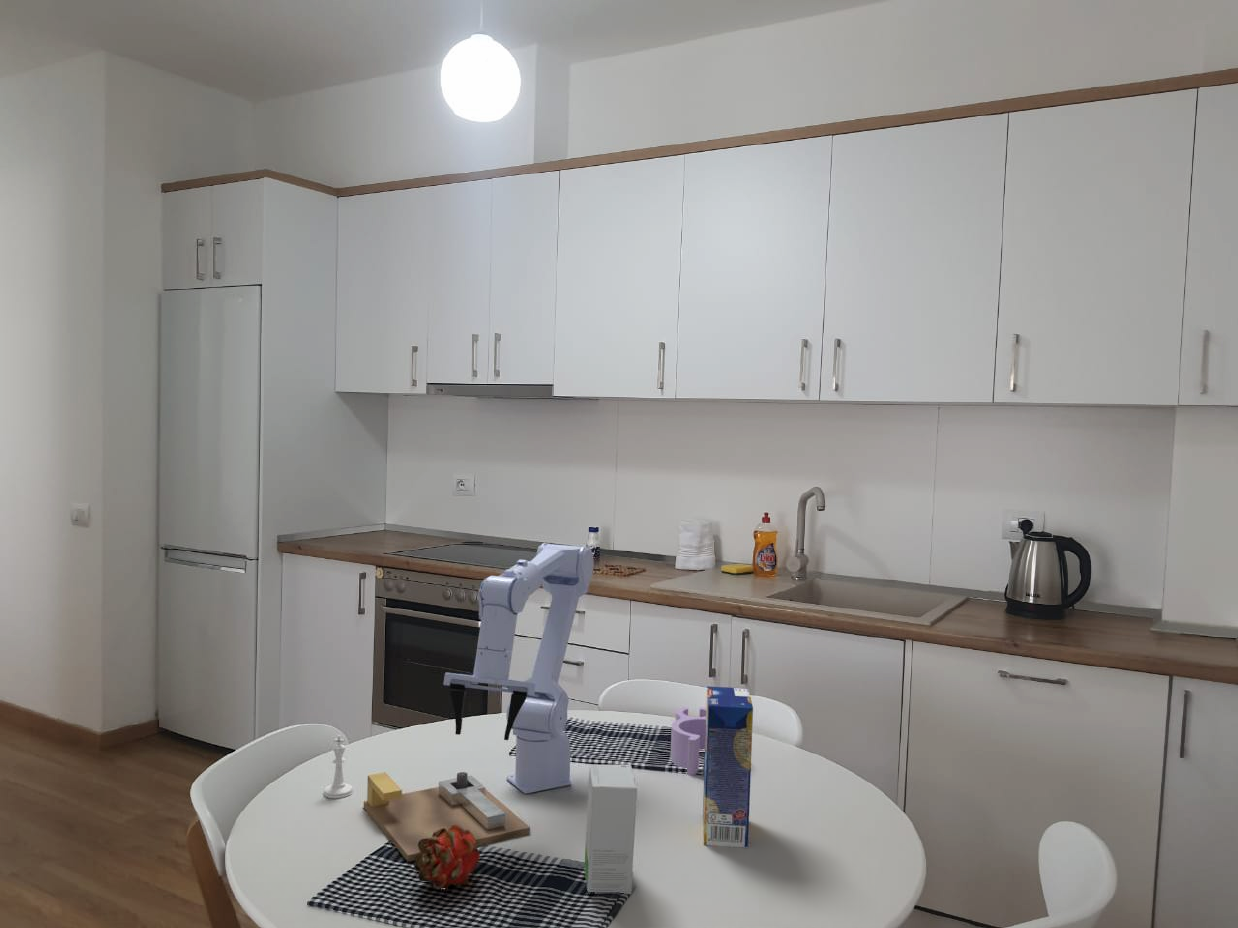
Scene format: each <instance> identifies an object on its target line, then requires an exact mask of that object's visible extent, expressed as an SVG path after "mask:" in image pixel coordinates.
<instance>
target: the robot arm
mask: <svg viewBox="0 0 1238 928" xmlns="http://www.w3.org/2000/svg"><path fill="white" fill-rule="evenodd" d="M594 564H595V563H594V553H593V551H592V549H591V548H590V547H589V546H587V545H586V546H585V545H583V546H578V545H576V546H575V545H565V544H552V543H548V542H543V543H542V544H541V545H538V547H537V551H536V555H535V557H533V559H531V560H529V561H528V560H527V559H518V560H517V561H516V564H515V565H512V567H510V568H507V569H505V570H504V571H503V573H501V574H500V575H490V576H488V577H487V578H485V579H483V580H482V582H481V584H480V587H479V589H478V591H477V601H478V606H479V609H478V610H479V611H478V619H479V620H480V627H479V631H478V632H479V633H478V638H477V639H478V640H477V646H476V653H475V654H476V655H475V660H474V667H473V671H472V672H473V673H472V674H464V673H454V672H453V673H452V672H445V673H444V677H443V682H442V683H443V686H449V689H448V691H449V695H450V699H451V702H452V708H453V712H454V713H453V714H454V719H455V721H454V722H455V733H454V734H455V735H457V736H459V735H461V734H462V729H463V715H464V706H465V702H466V696H467V689H468V688H469V689H475V690H476V689H478V690H486V691H494V692H501V693H502V692H503V693H510V700H509V702H508V704H507V706H506V707H507V709H506V715H505V717H506V726H505V731H504V734H503V735H504V736H503V740H504V741H509V739H510V733H511V731H512V735H513V736H515V739H516V740H515V743H516V744H515V773H514V774H511V775H507V776H506V780H507V781H508V782H510V783H511V785H514V787H515V788H518V790H520V792H522V793H523V794H531V793H536V792H541V791H545V790H546V791H547V790H551V789H554V788H560V787H565V786H569V785H572V780H570V778H571V777H570V776H571V775H570V772H571V743H570V740H569V737H568V735H567V733H566V732H565V731H564V730H565V727H566V724H567V719H568V705H569V697H568V694H567V692H566V691H565V690H564V689H563V688H562V686H561V685H559V679H560V676H561V672H562V667H563V662H564V659H565V655H566V651H567V647H568V644H569V638H570V635H571V631H572V627H573V624H574V619H575V616H576V611H577V608H578V603H579V600H580V598H581V597H582V596H584V595H586V594H588V590H589V587H590V584H591V579H592V575H593V571H594V566H595V565H594ZM541 586H542V588H543V590H544V591H546V592H547V593H549V594H550V595H551V602H550V606H549V609H548V613H547V616H546V621H545V624H544V628H543V631H542V635H541V638H540V639H541V640H540V643H539V647H538V650H537V654H536V658H535V662H534V666H533V669H532V674H531V676H530V677H528V678H527V679H526V680H524V681H521V680H514V679H513V680H512V679H509V676H510V670H511V663H512V662H511V661H512V656H513V650H514V642H515V635H516V627H517V622H518V621H517V619H518V614H519V613H522V612H523V611H524V609H525V605H526V603H527V601H528V600H529V598H530V596H531V595H533V594H534V593H535V592H536V591H538V590H539V589H540V587H541ZM479 684H489V685H495V686H496V685H498V686H501V687H493V686H486V685H479Z"/></svg>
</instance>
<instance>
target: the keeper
mask: <svg viewBox="0 0 1238 928" xmlns="http://www.w3.org/2000/svg"><path fill="white" fill-rule="evenodd" d="M366 790H367V791H366V792H367V793H366V794H367V795H366V799H367V800H366V801H367V802H368V803H369V804H370V805H371V807H372V806H378V805H383V804H388V803H389V800H391V799H396V798H401V797H402V794H403V790H402V788H401V787H400V786H399V785H398V784H397V783H396V782H395V781H394V780H393V779H392V778H391V777H390V776H389V774H388V773H387V772H381V773H379V772H378V773H375V774H369V775H367V789H366Z"/></svg>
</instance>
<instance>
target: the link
mask: <svg viewBox="0 0 1238 928" xmlns="http://www.w3.org/2000/svg"><path fill="white" fill-rule="evenodd" d="M438 787H439V794H440V795H441V796H442V797H443V798H444V799H445V800H446V801H447V802H448V803H449V804H450V805H451V806H454V805H459V804H461V805H462V806H463V807H464V808H465V809H466V810H467V811H468V812H469V813H470V814H471V815H472V816H473V817H474V818H475V819H476V820H478V821H479V822H480V823H481V824H482V825H483V826H484V827H485V828H486V829H487V830H488V829H493V828H497V827H502V826H505V813H504V812H503V811H502V810H501V809H500V808H498V807H497V806H496V805H495V804H494V803H493V802H492V801H490V800H489V799H488V798H487V797H486V796H485V789H486V786H484V784H482V783H481V782H480V781H479V780H477V778H475V777H474V776H473V775H468V780H467V788H462V789H457V777H456V778H451V779H446V780H441V781H438Z"/></svg>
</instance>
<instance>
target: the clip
mask: <svg viewBox="0 0 1238 928" xmlns="http://www.w3.org/2000/svg"><path fill="white" fill-rule="evenodd" d="M706 709H707V707H699V716H691V715H689V708H688V707H686V706H683V707H679V708H678V709H676V710H675V721H673V722H672V724H671V733H670V735H671V737H670V739H671V740H670V761H671V760H672V762H673V763H674V764H676V765H677V766H679V767H685V768H687V771H686V775H688V776H692V777H693V776H696V775H697V774H698V773H697V771H698V769H699V768H700V753H699V749H705V738H706ZM699 770H700V769H699ZM698 772H699V771H698ZM696 773H697V774H696Z"/></svg>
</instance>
